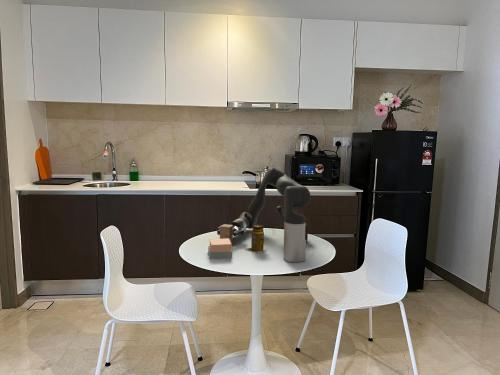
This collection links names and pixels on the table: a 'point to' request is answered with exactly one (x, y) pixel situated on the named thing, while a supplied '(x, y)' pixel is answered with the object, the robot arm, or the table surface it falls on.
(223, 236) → the tall block
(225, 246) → the tower top
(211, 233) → the table surface
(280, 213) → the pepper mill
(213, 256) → the tower bottom
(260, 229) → the condiment
